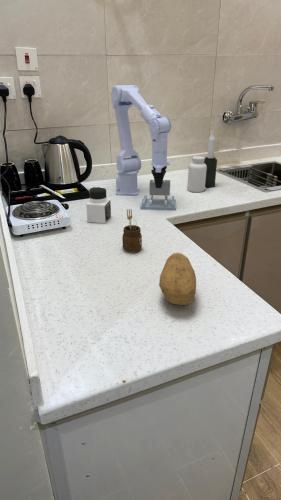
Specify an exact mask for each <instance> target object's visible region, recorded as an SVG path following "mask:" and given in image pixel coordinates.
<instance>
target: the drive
mask: <svg viewBox="0 0 281 500" xmlns="http://www.w3.org/2000/svg"><path fill="white" fill-rule="evenodd" d="M148 189H149V190H148V191H149V192H148V193H149V195H148V196H151V195H153V196H161V197H162V196H164V197H165V196H168V197H169V196H170V195H171V194H170V193H171V180H170V179H163V182H162V187H161V188H156V186H155V181H154V179H150V180H149V187H148Z"/></svg>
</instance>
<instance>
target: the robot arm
mask: <svg viewBox="0 0 281 500" xmlns="http://www.w3.org/2000/svg"><path fill="white" fill-rule="evenodd" d="M110 96H111V104H112V109H114V114H115V120H116V127H117V132H118V133H117V134H118V138H119V139H118V140H119V145H120V151H119V153H118V154H117V156H116V169H117V173H115V174H116V175H115V189H116V193H115V194H116V195H117V196H118V195H125V196H138V194H139V192H140V189H139V188H138V173H139V172H140V170H141V169H142V161H141V158H140V154H139V152H137V151H136V150H135V149H134V146H133V145H134V144H133V139H132V133H131V125H130V118H129V109H130V108H131V107H133V106H134V107H136V109H138V111H139V112H140V117H141V118H142V119H143V121H145V123H146V124H147V125H148V129H149V132H150V139H151V141H152V142H151V143H152V144H151V146H152V147H151V163H150V164H151V166H152V169H151V174H152V176H153V180H154V181H155V186H156V188H161V187H162V182H163V180H164V177H165V175H166V174H167V170H166V169H167V168H168V166H170V165H171V163H170V162H169V161H167V160H168V135H169V134H168V133H170V132H171V128H172V122H171V120H170V118H169V117H168V116H164V115H162V114H161V113H159V111H158V110H157V109H156V108H155V105H154V104H148V103H147V102H146V101H145V99H144V98H143V97H142V95H141V94H140V88H139V87H138V86H137V85H136V84H129V85H128V84H125V85H124V84H122V85H118V84H115V85H113V87H112V89H111V92H110Z"/></svg>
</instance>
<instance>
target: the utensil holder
mask: <svg viewBox="0 0 281 500" xmlns="http://www.w3.org/2000/svg"><path fill="white" fill-rule="evenodd" d="M132 212H133V210H132V208H126V218H127V220H129V221H128V223H129V224H128V225H125V226H124V227H123V230H122V231H123V234H122V237H121V239H122V249H123V251H125V252H126V253H130V254H135V253H139V252H140V251H141V250H142V248H143V247H142V246H143V238H142V237H143V236H142V233H141V231H142V230H141V227H140V226H139V225H137V219H136V218H135V217H134V218H133V213H132ZM132 222H135V223H133V224H132Z"/></svg>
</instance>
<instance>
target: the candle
mask: <svg viewBox="0 0 281 500" xmlns="http://www.w3.org/2000/svg"><path fill="white" fill-rule="evenodd" d="M214 132H215V131H213V130H212V131H211V134H210V137H209V138H208V143H207V145H208V146H207V156H205V157H204V158H205V159H204V163H205V164H206V166H207V170H206V181H205V189H210V188H215V187H216V177H217V176H216V175H217V168H218V167H217V166H218V159H217V157H216V156H215V149H216V148H215V147H216V137H215V135H214Z"/></svg>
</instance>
